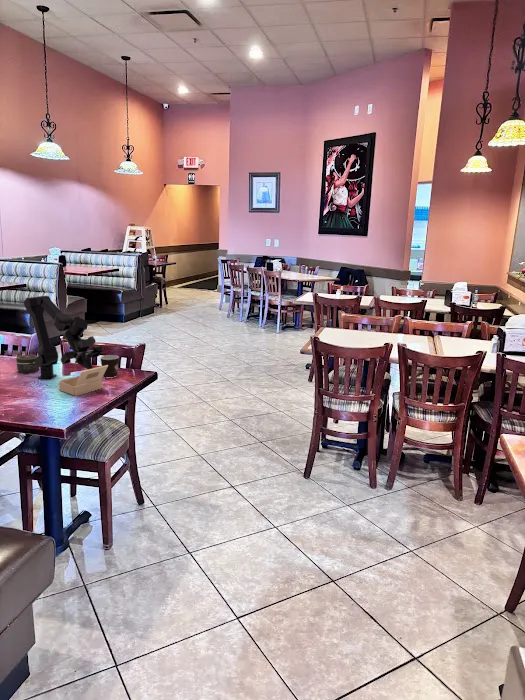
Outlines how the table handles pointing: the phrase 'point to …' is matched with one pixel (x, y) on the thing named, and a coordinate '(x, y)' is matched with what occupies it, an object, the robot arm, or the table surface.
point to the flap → (91, 375)
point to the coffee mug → (110, 365)
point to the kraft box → (72, 389)
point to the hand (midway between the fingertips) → (91, 370)
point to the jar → (26, 364)
